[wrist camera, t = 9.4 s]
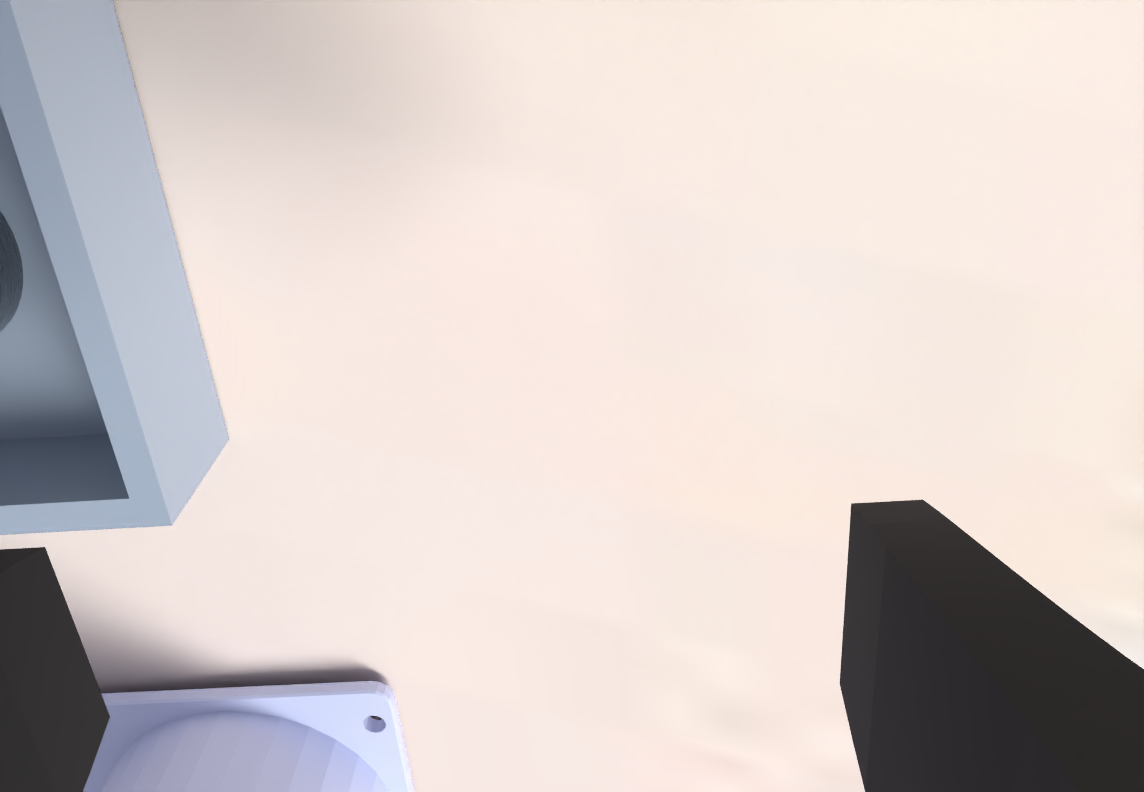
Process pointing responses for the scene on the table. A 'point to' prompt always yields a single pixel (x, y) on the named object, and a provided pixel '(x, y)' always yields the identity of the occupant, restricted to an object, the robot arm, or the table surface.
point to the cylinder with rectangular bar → (9, 273)
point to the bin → (92, 291)
